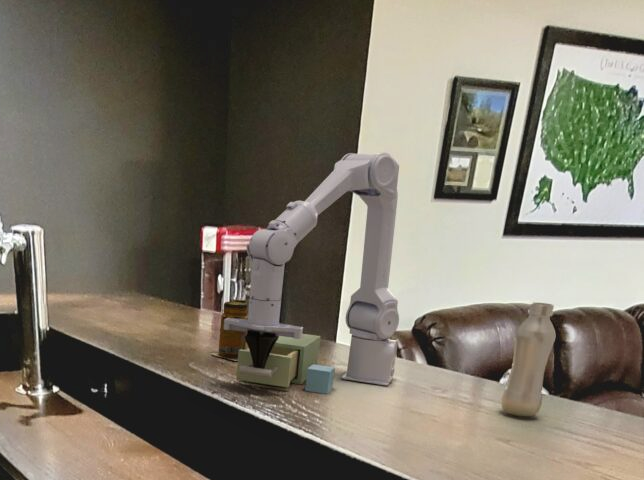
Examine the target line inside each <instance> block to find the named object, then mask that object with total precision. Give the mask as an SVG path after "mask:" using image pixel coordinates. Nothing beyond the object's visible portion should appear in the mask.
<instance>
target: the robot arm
mask: <svg viewBox="0 0 644 480" xmlns="http://www.w3.org/2000/svg"><path fill="white" fill-rule="evenodd" d="M399 171H400V164H399V163H398V162H397V161H396V160H395V158H394V157H393V156H392V154H391V153H388V152H380V153H355V152H349V153H346V154H345V155H343V156H342V158H341V159H340V160H338V161H337V162H335V164H334V165H333V171H331V173H330V174H328V176H327V177H326V178H325V179H324V180H323V181H322V182H321V183H320V184H319V185H318V186H317V187H316V188H315V189H314V191H313V192H312V193H311V194H310V195H309V196H308V197H307V198H306V199H305V200H295V201H290V202H289V203H288V204H286V209H285V210H284V211H283V212H282V213H281V214H280V215H278V216H277V217H276V219H272V220H271V221H270V222H268V226H267V227H266V228H262V229H258V230H256V231H255V232H254V233H253V234H252V236H251V237H250V239H249V241H248V244H247V243H246V253H247V256H248V257H249V259H250V266H249V267H250V269H251V276H250V288H249V299H248V300H249V301H248V311H247V317H248V320H247V319H233V318H227V319H224V330H237V331H245V332H247V335H246V336H245V340H246V346H247V348H248V347H249V350H250V353H251V357H252V361H253V367H254V368H261V369H265V365H266V362H267V359H268V357H269V354H270V352H271V350H272V348H273V346H274V345H275V343H276V341H277V340H278V338H279V336H284V337H291V338H294V339H300V338H302V334H303V330H304V327H303V326H297V325H292V324H288V323H287V324H286V323H282V322H280V316H281V306H282V305H281V304H282V294H283V284H284V273H285V265H286V263H287V262H289V261H290V260H291V259H292V257H293V254H294V250H295V248H296V246H298V243H299V242H301V240H303V239H304V238H305V237H306V236H307V235H308V234H309V233H310V232H311V231H312V230H313V229H314V228H316V226H317V224H318V216H319V215H320V214H321V213H322V212H324V211H325V210H326V209H327V208H329V207H330V206H331V205H333V204H334V203H335V202H336V201H338V200H339V198H341V197H342V196H343V195H344V194H346V193H347V192H351V193H352V194H355V195H356V196H358V197H359V198H360V199H361V200H362V201H363V202H364V204H365V205H366V206H367V210H366V221H365V231H364V241H363V242H364V243H363V253H362V263H361V274H360V275H361V276H360V285H359V288H358V289H357V290H356V291H355V292H354V293H352V294H351V296H350V301H349V305H348V308H347V310H346V313H345V324H346V326H347V328H348V329H349V332H348V333H349V334H350V335H351V338H350V345H349V352H348V359H347V368H346V372H345V373H344V374H343V375H342V376H341V377H340V378H341V380H345V381H353V382H359V383H366V384H373V385H379V386H389V385H390V383H391V382H392V380H393V379H394V375H395V365H396V359H397V358H396V357H397V353H398V352H397V351H398V340H396V339H391V337H392V336H393V335H394V334H395V333H396V331H397V329H398V327H399V323H400V315H399V310H398V303H399V301H398V299H397V297H396V296H395V295H394V294H393V293H392V292H391V290H390V289H389V283H390V276H391V275H390V274H391V264H392V255H393V248H394V247H393V246H394V235H395V226H396V218H397V217H396V216H397V210H398V209H397V208H398V199H399V198H398V197H399V194H398V182H399V174H400V172H399ZM271 331H272V332H271Z"/></svg>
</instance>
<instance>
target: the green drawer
mask: <svg viewBox="0 0 644 480" xmlns="http://www.w3.org/2000/svg"><path fill="white" fill-rule="evenodd" d="M299 359H300V350H297V349H289V348H282V347H275V346H273V348H272V350H271V352H270V354H269V357H268V359H267V362H266V365H265V369H261V368H254V367H253V361H252V357H251V353H250V350H249V348H248V347H247V349H246V348H245V350H242V349H240V350H239V352H238V361H237V367H236V378H235V379H236V380H237V381H242V382H248V383H255V384H261V385H269V386H276V387H282V388H289V387H290V386H291V385H290V384H291V383H290V381H291V380H292V379H293V378H295V377H296V376H297V375H298V368H299Z"/></svg>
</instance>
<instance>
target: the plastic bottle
mask: <svg viewBox="0 0 644 480" xmlns="http://www.w3.org/2000/svg"><path fill="white" fill-rule="evenodd" d="M554 308H555V304H552V303H546V302H535V301H534V302H530V303H529V309H528V310H527V314H528V316H527V318H525V319H524V320H523V321H522V322H521V323H520V324H519V325H518V326H517V328H516V329H515V331H514V339H513V340H514V341H513V356H512V364H511V369H510V373H509V375H508V380H507V383H506V387H505V389H504V390H503V393H502V395H501V403H500V405H501V408H502V410H503V412H505V413H507V414H510V415H513V416H516V417H534V416H536V415H537V414H538V413H539V412H540V410H541V407H542V404H543V385H544V377H545V371H546V367H547V365H548V360H549V357H550V355H551V352H552V349H553V347H554V343H555V341H556V335H557V334H556V330H555V327H554V325H553V323H552V321H551V317H552V316H553V315H554V314H553V311H554Z"/></svg>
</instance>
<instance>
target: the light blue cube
mask: <svg viewBox="0 0 644 480" xmlns="http://www.w3.org/2000/svg"><path fill="white" fill-rule="evenodd" d="M335 371H336V367H335V366H329V365H328V366H327V365H322V364H317V365H315V364H313V365H311V366H310V367H309V368H308V369H307V377H306V380H305V386H304V387H305V388H304V391H305V392H311V393H318V394H324V395H328V394H329V393H330V392H332V390H333V386H334V378H335Z"/></svg>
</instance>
